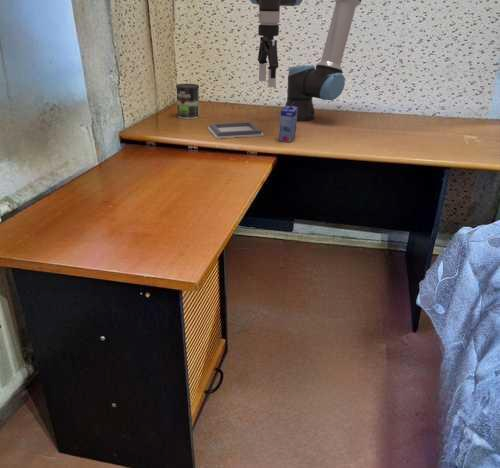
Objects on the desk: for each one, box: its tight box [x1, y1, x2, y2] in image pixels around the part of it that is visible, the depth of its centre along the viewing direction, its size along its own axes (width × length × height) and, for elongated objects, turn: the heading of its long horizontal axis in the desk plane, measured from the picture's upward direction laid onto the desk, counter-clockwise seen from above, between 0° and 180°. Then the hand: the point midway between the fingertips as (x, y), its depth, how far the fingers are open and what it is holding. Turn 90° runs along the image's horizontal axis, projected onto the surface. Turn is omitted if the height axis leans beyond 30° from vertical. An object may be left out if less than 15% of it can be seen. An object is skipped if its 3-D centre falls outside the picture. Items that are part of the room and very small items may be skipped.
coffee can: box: [175, 83, 200, 120], centre depth 219 cm, size 10×10×14 cm
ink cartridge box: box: [278, 103, 298, 143], centre depth 188 cm, size 10×6×14 cm, turn 166°
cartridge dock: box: [207, 121, 265, 140], centre depth 198 cm, size 20×16×2 cm
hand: (266, 84), depth 185 cm, fingers open, 13 cm apart
